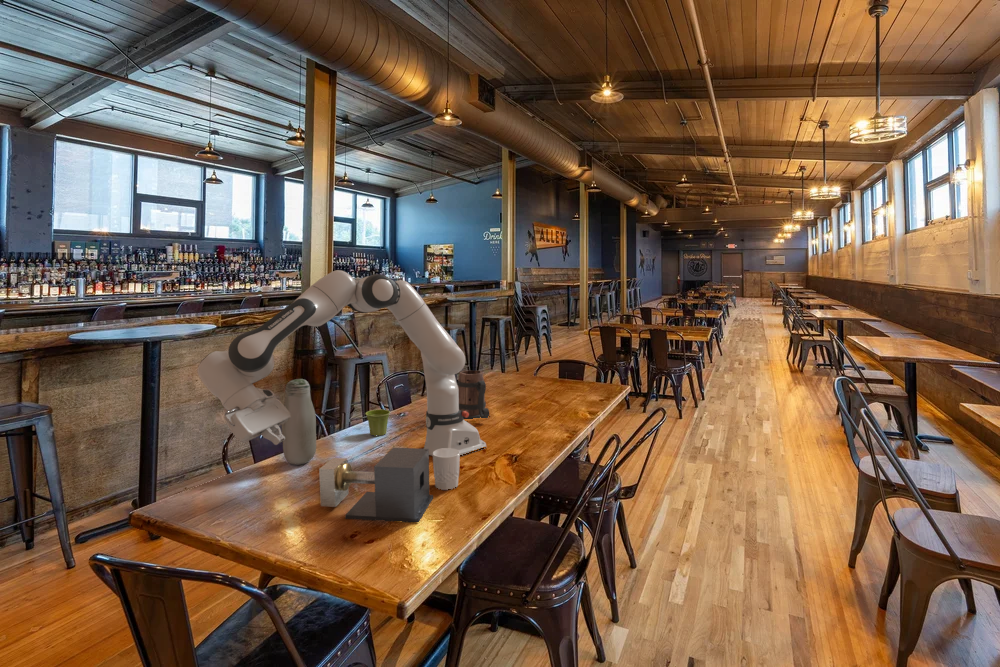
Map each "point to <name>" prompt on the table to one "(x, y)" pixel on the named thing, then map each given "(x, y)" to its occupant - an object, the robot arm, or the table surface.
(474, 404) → the tankard
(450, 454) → the white cup
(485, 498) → the table surface
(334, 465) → the shaft
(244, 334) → the robot arm
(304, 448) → the glass bottle
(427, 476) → the bearing block
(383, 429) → the plant pot
